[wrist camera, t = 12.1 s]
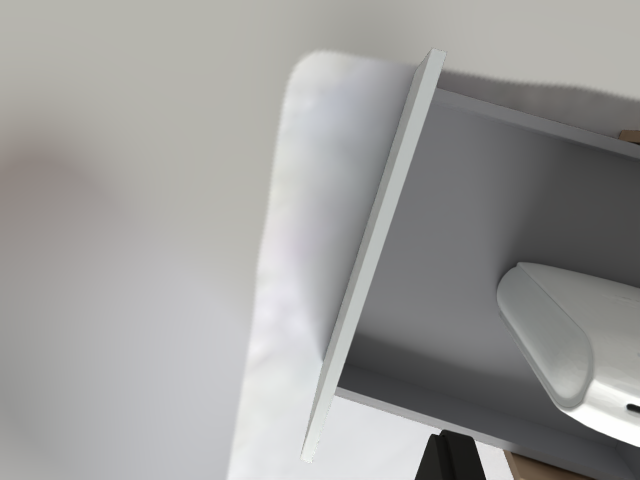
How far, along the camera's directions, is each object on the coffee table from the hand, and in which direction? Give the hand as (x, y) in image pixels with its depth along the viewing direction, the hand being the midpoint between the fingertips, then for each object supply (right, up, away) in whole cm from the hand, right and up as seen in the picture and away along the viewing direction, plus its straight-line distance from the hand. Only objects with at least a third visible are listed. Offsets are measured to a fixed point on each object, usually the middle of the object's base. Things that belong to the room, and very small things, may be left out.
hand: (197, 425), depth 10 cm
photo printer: (+18, 0, +19) cm, 26 cm away
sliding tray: (+16, +1, +20) cm, 25 cm away
